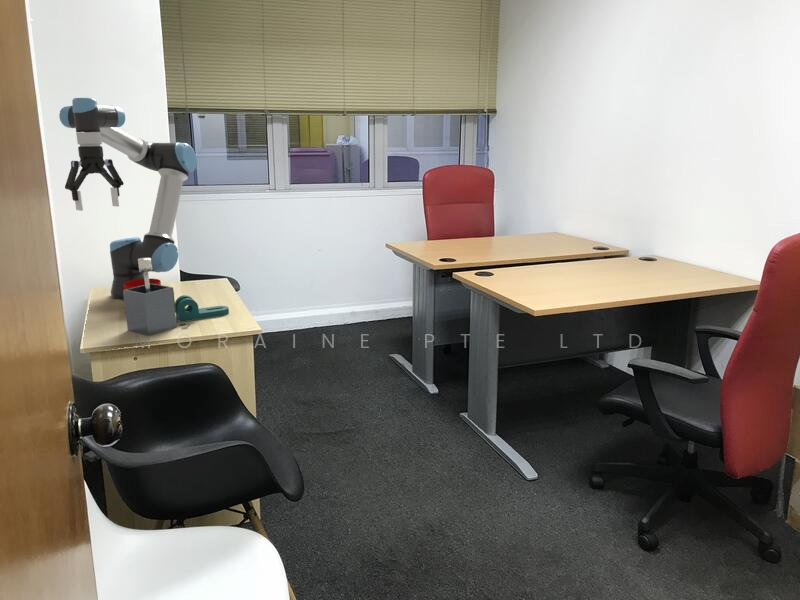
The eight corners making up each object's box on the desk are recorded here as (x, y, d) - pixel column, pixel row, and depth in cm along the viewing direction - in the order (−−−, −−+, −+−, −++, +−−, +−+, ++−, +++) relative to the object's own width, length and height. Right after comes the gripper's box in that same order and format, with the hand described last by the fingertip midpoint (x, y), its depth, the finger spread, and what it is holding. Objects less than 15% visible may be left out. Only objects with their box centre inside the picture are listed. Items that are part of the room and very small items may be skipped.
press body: (164, 319, 223) (160, 281, 219) (185, 324, 217) (181, 285, 214) (127, 330, 211) (122, 289, 207) (148, 335, 205) (143, 294, 202)
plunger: (152, 304, 217) (147, 255, 212) (169, 308, 212) (163, 257, 208) (130, 310, 210) (124, 259, 205) (147, 314, 205) (141, 262, 201)
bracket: (179, 322, 220) (177, 300, 218) (176, 317, 226) (173, 296, 224) (231, 315, 229) (229, 294, 227) (226, 310, 235) (224, 290, 233)
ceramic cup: (160, 314, 230) (157, 287, 227) (119, 311, 233) (115, 285, 231) (179, 304, 242) (176, 279, 239) (139, 302, 245) (136, 277, 243)
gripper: (116, 144, 226) (123, 204, 231) (47, 146, 205) (57, 211, 211) (129, 144, 222) (136, 205, 227) (60, 146, 201) (69, 212, 207)
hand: (98, 208), depth 219 cm, fingers open, 13 cm apart
